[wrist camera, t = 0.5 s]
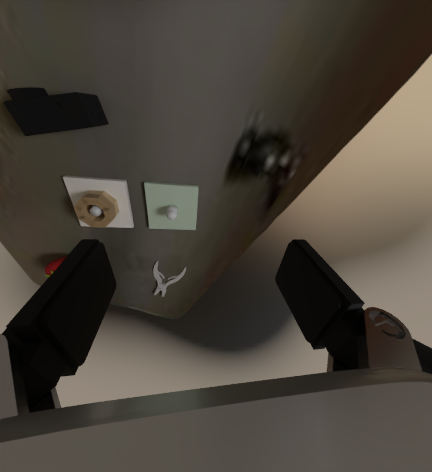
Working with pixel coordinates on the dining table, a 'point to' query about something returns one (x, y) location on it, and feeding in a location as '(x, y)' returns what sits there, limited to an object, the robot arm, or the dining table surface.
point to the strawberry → (53, 266)
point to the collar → (101, 201)
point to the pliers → (159, 280)
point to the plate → (171, 205)
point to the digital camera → (53, 111)
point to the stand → (111, 186)
